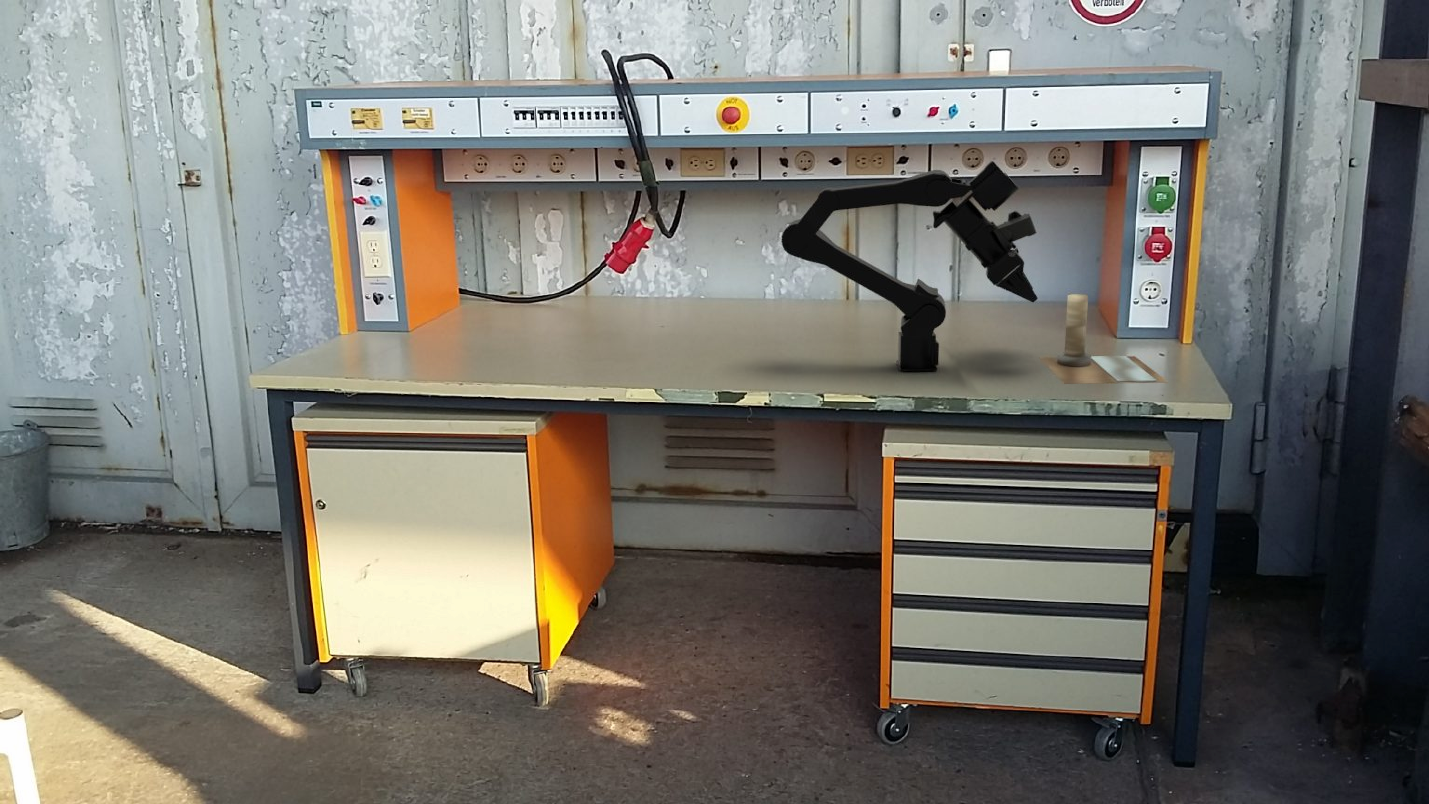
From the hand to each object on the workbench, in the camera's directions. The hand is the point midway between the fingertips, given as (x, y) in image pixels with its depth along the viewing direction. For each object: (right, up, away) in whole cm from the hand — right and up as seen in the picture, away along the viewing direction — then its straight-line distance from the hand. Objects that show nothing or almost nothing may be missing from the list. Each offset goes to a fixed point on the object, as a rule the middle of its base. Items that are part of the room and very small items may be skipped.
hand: (1033, 295), depth 213 cm
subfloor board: (+11, -14, -2) cm, 18 cm away
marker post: (+8, -12, +2) cm, 14 cm away
